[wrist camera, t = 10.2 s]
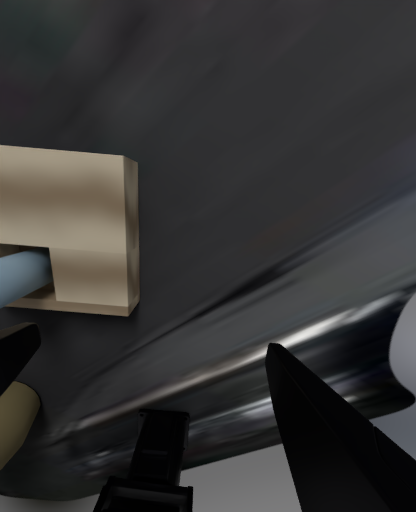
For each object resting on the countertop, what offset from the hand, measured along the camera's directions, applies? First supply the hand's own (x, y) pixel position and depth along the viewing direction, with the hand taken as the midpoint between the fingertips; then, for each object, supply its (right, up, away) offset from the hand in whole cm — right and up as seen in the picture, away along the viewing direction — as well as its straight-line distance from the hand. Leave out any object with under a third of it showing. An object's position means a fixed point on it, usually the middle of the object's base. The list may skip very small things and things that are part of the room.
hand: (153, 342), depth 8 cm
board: (-12, +6, +12) cm, 17 cm away
